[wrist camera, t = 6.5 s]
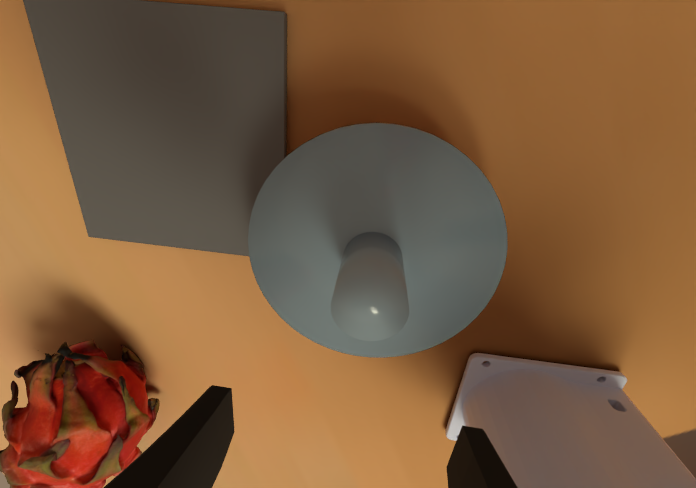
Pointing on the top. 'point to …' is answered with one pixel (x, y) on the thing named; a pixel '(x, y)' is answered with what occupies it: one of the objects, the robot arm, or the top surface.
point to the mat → (166, 114)
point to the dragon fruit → (76, 419)
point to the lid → (377, 240)
